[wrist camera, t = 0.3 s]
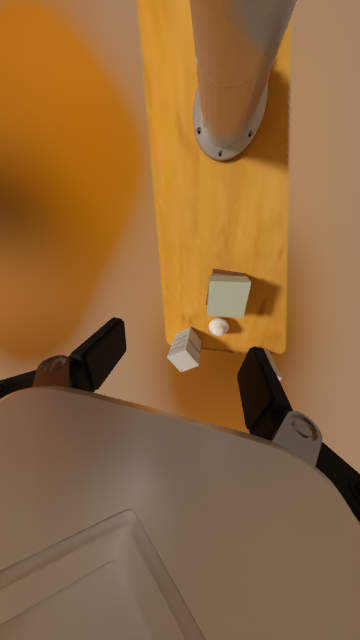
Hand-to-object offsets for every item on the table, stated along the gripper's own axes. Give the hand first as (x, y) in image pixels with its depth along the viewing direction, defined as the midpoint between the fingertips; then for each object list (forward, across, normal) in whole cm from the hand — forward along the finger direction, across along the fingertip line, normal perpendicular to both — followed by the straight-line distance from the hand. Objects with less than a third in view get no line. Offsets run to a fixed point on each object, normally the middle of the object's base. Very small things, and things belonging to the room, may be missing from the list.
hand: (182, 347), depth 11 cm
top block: (+31, -7, +6) cm, 32 cm away
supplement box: (+37, 0, +26) cm, 45 cm away
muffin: (+36, -8, +17) cm, 41 cm away
